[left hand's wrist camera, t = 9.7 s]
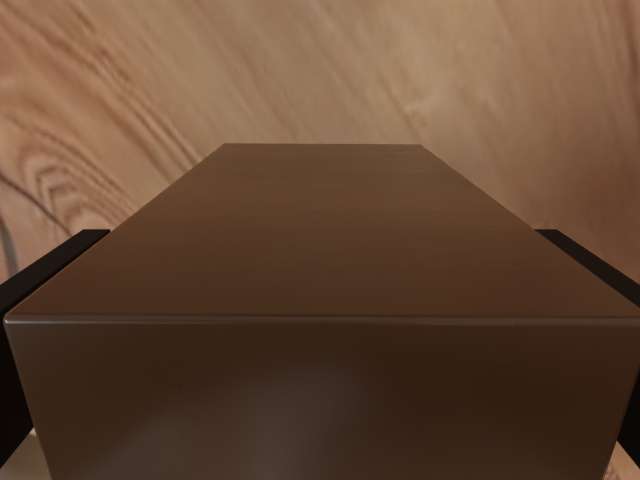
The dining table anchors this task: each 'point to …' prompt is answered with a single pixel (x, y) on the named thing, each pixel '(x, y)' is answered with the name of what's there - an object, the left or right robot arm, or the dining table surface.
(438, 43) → the dining table surface
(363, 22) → the dining table surface
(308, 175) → the box
